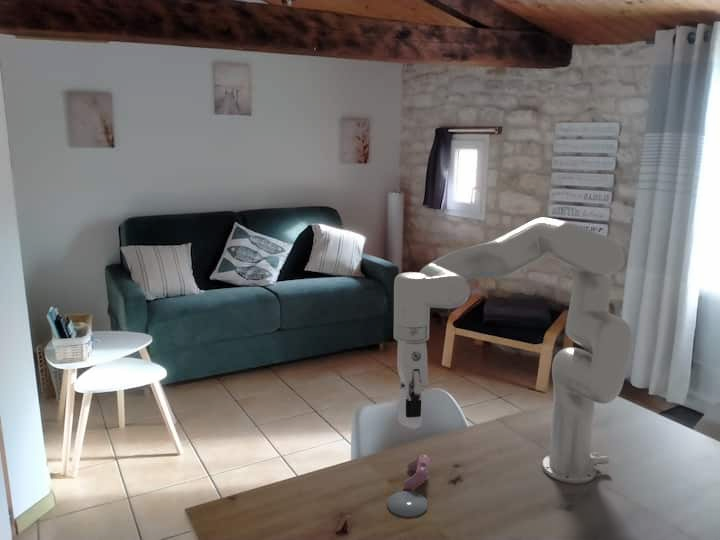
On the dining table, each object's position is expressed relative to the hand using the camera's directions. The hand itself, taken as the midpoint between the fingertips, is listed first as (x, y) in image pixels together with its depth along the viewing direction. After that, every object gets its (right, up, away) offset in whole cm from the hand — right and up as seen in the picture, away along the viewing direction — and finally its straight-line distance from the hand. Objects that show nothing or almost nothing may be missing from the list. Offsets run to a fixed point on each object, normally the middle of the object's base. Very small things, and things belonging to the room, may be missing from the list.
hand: (410, 409), depth 132 cm
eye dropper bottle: (0, -4, +1) cm, 4 cm away
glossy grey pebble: (0, -23, +5) cm, 23 cm away
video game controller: (+3, -21, +15) cm, 26 cm away
